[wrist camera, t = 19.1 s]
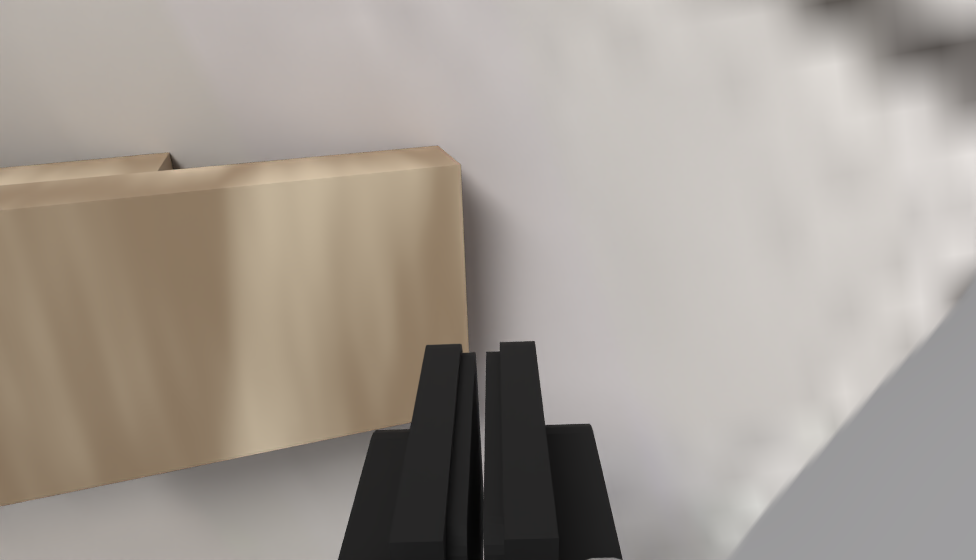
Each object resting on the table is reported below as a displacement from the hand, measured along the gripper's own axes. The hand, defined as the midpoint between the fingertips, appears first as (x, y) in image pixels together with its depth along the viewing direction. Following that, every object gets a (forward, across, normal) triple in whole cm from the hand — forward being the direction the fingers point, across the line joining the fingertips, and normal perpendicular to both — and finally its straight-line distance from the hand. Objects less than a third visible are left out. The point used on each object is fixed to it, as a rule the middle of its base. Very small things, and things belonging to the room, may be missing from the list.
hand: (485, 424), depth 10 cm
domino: (+6, +1, 0) cm, 6 cm away
